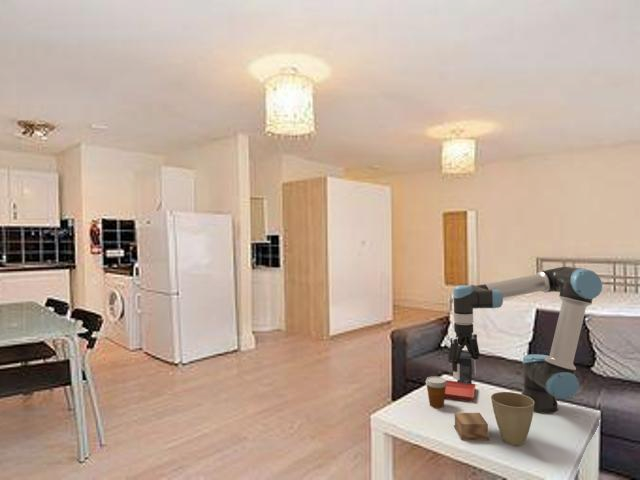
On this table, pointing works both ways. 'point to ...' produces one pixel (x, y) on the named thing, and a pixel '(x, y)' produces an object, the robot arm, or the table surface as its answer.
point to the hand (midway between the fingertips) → (464, 376)
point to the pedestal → (471, 426)
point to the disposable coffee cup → (436, 391)
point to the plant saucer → (459, 391)
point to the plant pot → (513, 416)
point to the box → (465, 368)
